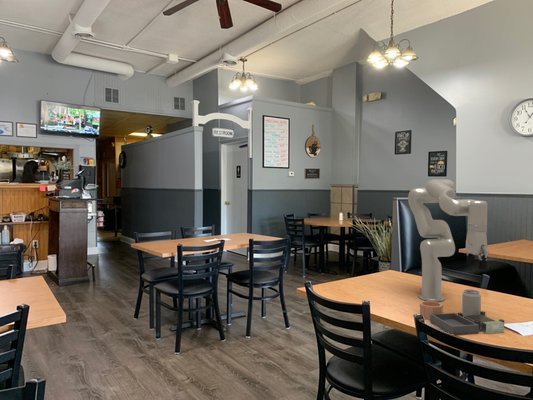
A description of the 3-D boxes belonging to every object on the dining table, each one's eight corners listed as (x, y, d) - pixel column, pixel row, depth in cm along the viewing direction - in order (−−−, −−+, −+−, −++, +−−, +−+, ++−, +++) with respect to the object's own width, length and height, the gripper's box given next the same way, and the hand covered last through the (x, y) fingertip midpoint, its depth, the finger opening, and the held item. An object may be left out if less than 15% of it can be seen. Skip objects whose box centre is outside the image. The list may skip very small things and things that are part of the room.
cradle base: (457, 321, 173) (457, 312, 173) (483, 320, 175) (483, 311, 175) (481, 334, 158) (481, 324, 158) (509, 332, 160) (509, 322, 160)
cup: (416, 314, 183) (416, 301, 183) (434, 313, 184) (434, 300, 184) (427, 320, 174) (427, 307, 174) (446, 319, 176) (446, 306, 175)
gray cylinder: (474, 314, 183) (475, 288, 183) (484, 319, 176) (484, 292, 175) (458, 314, 183) (459, 288, 182) (467, 319, 175) (468, 293, 175)
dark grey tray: (430, 322, 172) (430, 314, 172) (454, 320, 174) (454, 312, 174) (452, 335, 157) (452, 326, 157) (478, 333, 159) (478, 324, 159)
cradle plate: (463, 320, 171) (463, 315, 171) (482, 319, 173) (482, 314, 173) (478, 327, 162) (478, 322, 162) (497, 326, 164) (497, 321, 164)
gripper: (459, 226, 183) (458, 262, 184) (479, 231, 166) (478, 271, 167) (475, 226, 183) (474, 262, 184) (497, 230, 166) (496, 271, 166)
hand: (476, 266), depth 175 cm, fingers open, 9 cm apart
